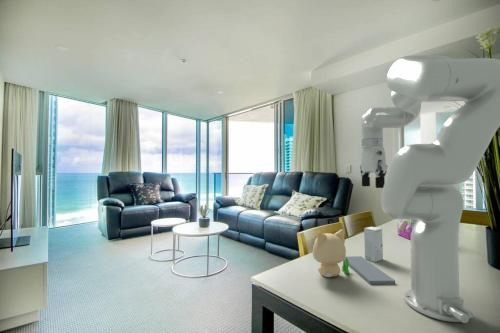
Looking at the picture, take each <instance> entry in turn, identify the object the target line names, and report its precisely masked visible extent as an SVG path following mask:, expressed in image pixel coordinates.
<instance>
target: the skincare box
mask: <svg viewBox="0 0 500 333" xmlns="http://www.w3.org/2000/svg"><path fill="white" fill-rule="evenodd" d="M363 229H364V230H363V231H364V234H363V236H364V239H363V240H364V259H366V260H367V261H369V262H375V263H376V262H379V261H382V260H383V259H384V248H383V245H384V244H383V243H384V242H383V227H382V228H381V227H376V226H369V227H368V226H367V227H364V228H363Z"/></svg>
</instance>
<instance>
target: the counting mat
mask: <svg viewBox="0 0 500 333" xmlns="http://www.w3.org/2000/svg"><path fill="white" fill-rule="evenodd" d="M346 258H347V259H348V261H349V266H348V267H349V268H350V269H352V270H353V271H354V272H355V273H356V274H357V275H358V276H360V277H361V278H362V279H363V280H364V281H365V282H366V283H367V284H369V285H396V280H395V279H394V278H392V277H391V276H389V275H388V274H387V273H385V272H384V271H382V270H381V269H380V268H378V267H377V266H375V265H374V264H372V263H371V261H369V260H367V259H365V257H363V256H360V255H358V256H345V258H344V260H343V261H344V262H345V260H346ZM343 261H342V262H343Z"/></svg>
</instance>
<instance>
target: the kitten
mask: <svg viewBox="0 0 500 333" xmlns="http://www.w3.org/2000/svg"><path fill="white" fill-rule="evenodd" d="M345 234H346V233H345V229H344V228H341V229H339V230H338V231H337V232H334V233H327V232H326V233H323V232H322V231H319V230H318V232H317V237H316V238H315V240H314V241H313V244H312V245H313V246H312V256H313V259H314V260H315V261H316V262H318V263H320V265H319V266H318V269H317V270H318V274H320V275H322V276H323V277H326V278H331V277H337V276H339V275H340V274H341V269H342V271H343V272H344V274H345V275H349V273H350V271H349V267H350V266H349V261H348V259H347V258H346V260H345V262H344V261H343V260H344V258H345V257H347V256H346V255H347V250H346V245H345V244H346V240H345ZM340 263H342V268H341V269H340V266H339V264H340Z"/></svg>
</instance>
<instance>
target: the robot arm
mask: <svg viewBox="0 0 500 333" xmlns="http://www.w3.org/2000/svg"><path fill="white" fill-rule="evenodd" d="M386 84H387V85H386V86H387V87H388V88H389V90H391V93H390V99H391V102H392V104H393V105H394V106H385V107H382V106H381V107H371V108H369V109H368V110H367V111H366V113H364V114H362V117H361V149H362V152H361V158H360V160H361V161H360V162H361V165H360V166H359V170H360V174H361V175H360V177H361V186H362V187H370V186H371V177H370V174H371V173H374V174H375V176H376V177H375V184H374V185H375V186H374V187H375V188H376V189H382V191H381V196H380V206H381V209H382V211H383V212H384V214H385V215H387V217H390V218H392V219H397V220H398V219H416V220H417V222H416V223H415V225H414V227H413V229H412V232H411V240H410V279H411V280H410V282H411V283H410V284H411V286H410V288H411V290H410V289H409V290H407V291H405V293H404V300H405V303H406V304H408V306H410V307H411V308H412V309H413V310H415V311H417V312H419V313H421V314H422V315H425V316H427V317H429V318H432V319H436V320H439V321H443V322H452V323H463V324H467V323H469V321H470V319H473V318H474V313H473V312H472V311H471V310H470V309H468V308H467V307H466V306H465V305H464V299H463V298H462V297H461V296H460V272H459V271H460V270H459V269H460V268H459V267H460V264H459V262H460V261H459V259H460V258H459V249H460V248H459V247H460V246H459V245H460V244H459V233H460V224H461V219H462V214H463V210H464V198H463V195H462V193H461V192H460V191H459V189H458V188H456V187H455V186H453V185H458V184H462V183H465V182H467V181H468V180H469V179H470V178H471V177H472V175H473V173H475V171H476V169H477V167H478V165H479V163H480V162H481V160H482V159H483V157H484V154H485V153H486V150H487V149H488V147H489V146H490V143H491V141H492V139H493V137H494V136H495V134H496V132H497V131H498V129H499V128H500V59H498V58H489V57H488V58H487V57H486V58H485V57H484V58H479V57H477V58H456V59H454V58H451V57H449V56H447V55H440V54H424V55H423V54H421V55H404V56H401V57H400V58H398V59H396V61H395V62H394V63H393V64H392V65H391V66H390V68H389V70H388V72H387V75H386ZM425 102H426V103H428V102H429V103H430V102H431V103H432V102H433V103H436V102H437V103H438V102H464V104H463V105H462V106H461V107H459V108H458V109H456V110H455V111H454V112H453V113H451V115H449V117H447V119H446V120H445V121H444V122H443V124H442V125H441V128H440V131H439V133H438V136H437V137H436V139H435V140H434V141H433V142H431V143H413V144H407V145H405V146H403V147H401V148H399V150H398V151H397V152H396V153H395V155H394V156H393V158H392V160H391V164H390V166H389V170H388V165H387V159H386V150H385V147H384V130H383V129H400V128H404V127H406V126H408V125H409V124H411V123H413V122H414V121H415V120H416V119H418V116H419V114H420V112H421V109H422V103H425ZM387 170H388V173H387Z"/></svg>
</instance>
